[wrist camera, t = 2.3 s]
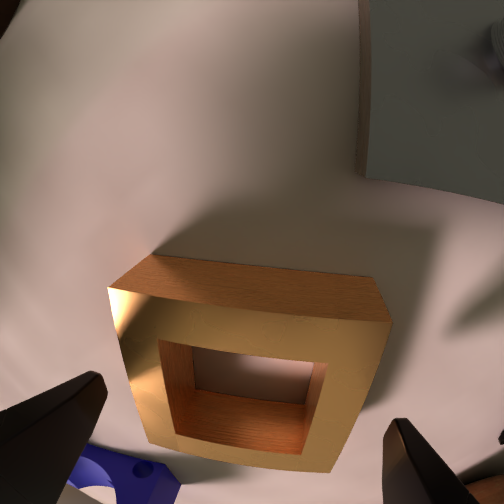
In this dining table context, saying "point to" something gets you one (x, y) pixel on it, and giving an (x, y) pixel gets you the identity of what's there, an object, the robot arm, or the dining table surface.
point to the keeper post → (433, 95)
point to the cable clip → (125, 476)
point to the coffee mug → (7, 13)
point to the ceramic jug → (488, 490)
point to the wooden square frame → (250, 343)
